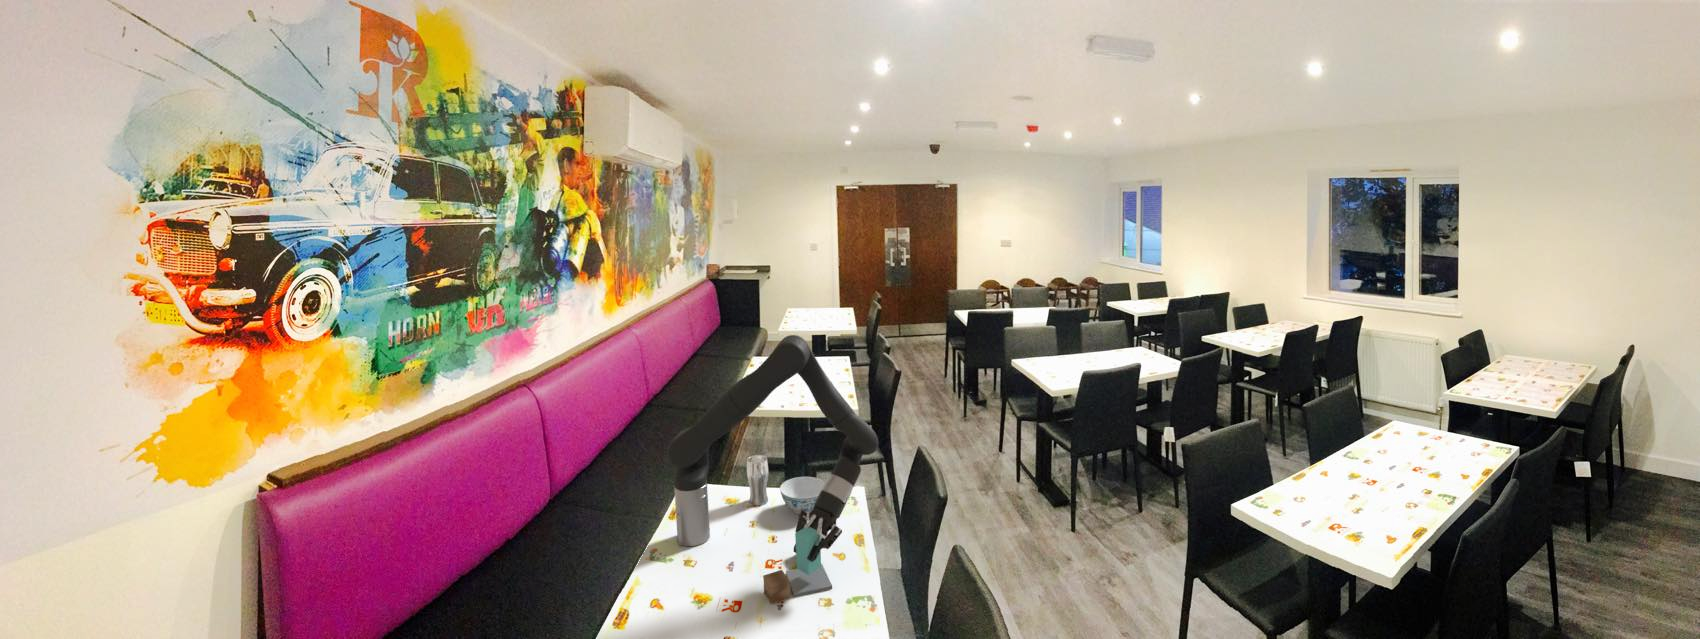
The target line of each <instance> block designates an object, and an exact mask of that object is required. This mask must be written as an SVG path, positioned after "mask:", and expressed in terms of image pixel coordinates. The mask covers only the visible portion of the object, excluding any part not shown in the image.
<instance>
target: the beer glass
mask: <svg viewBox="0 0 1700 639" xmlns="http://www.w3.org/2000/svg"><path fill="white" fill-rule="evenodd" d="M746 475H747V482H748V486H749V490H750V491H749V492H750V493H749V494H750V495H749V504H750V505H751V506H755V505H756V506H757V507H759V506H758V505H760V506H764V505H765V504H767V503H768V502H769V498H768V494H767V487H768V486H767V485H768V480H769V464H768V457H767V456H765V455H762V454H756V455H755V454H754V455H752V456H749V457H747V460H746Z"/></svg>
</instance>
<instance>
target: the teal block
mask: <svg viewBox="0 0 1700 639" xmlns="http://www.w3.org/2000/svg"><path fill="white" fill-rule="evenodd" d="M817 535H818V533H817V530H815V529H813V528H811V527H809V528H807V527H805V528H803V529H802V530H800V531H798V532H795V533H794V537H795V544H796V553H795V558H796V559H795V562H796V563H795V564H796V569H799V570H801V571H802V572H804V573H806V574H808V575H810V574H811V573H813V572H814V571H816V570H817V569H819V568H820V567H821V564H822V557H821V556H822V552H821V551H822V549H821V550H820V552H819V554H818V556H817V558H816V560H814V561H813V562H811V561H809V560H808V559H807V557H808V555H809V553H810V551H811V549H812V547H813V545H815V541H816V539H817V537H818V536H817Z"/></svg>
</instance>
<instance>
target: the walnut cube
mask: <svg viewBox="0 0 1700 639" xmlns="http://www.w3.org/2000/svg"><path fill="white" fill-rule="evenodd" d="M762 576H763V578H762V579H763V594H764V595H765V597H766V598H767V600H768V603H770V605H773V604H776V603H780V602H782V601H785V600H788V599H791V597H790V596H791V592H790V591H791V590H790V589H791V587H790V584H789V579H788V578H787V576H786V572H784V571H783V569H780V570H777V571H773V572H769V573H767V574H763V575H762Z"/></svg>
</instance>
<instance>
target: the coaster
mask: <svg viewBox="0 0 1700 639" xmlns="http://www.w3.org/2000/svg"><path fill="white" fill-rule="evenodd" d="M785 575H786V576H787V578H788V579H789V588H790V589H791V590H790V591H791V592H792V595H793V597H795V598H796V597H800V596H804V595H808V594H813V593H819V592H823V591H827V590H832V589H833V584H832V582H831V580H830V578H829V576H828V574H827V572H826V570H825V568H824V566H823V564H822V563H821V567H820V568H819V569H817V570H816V571H814V572H813V573H811V574H810V575H808V574H806V573H804V572H802V571H801V570H799V569H797V568H794V569H791V570H790V569H789V570H785Z"/></svg>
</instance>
